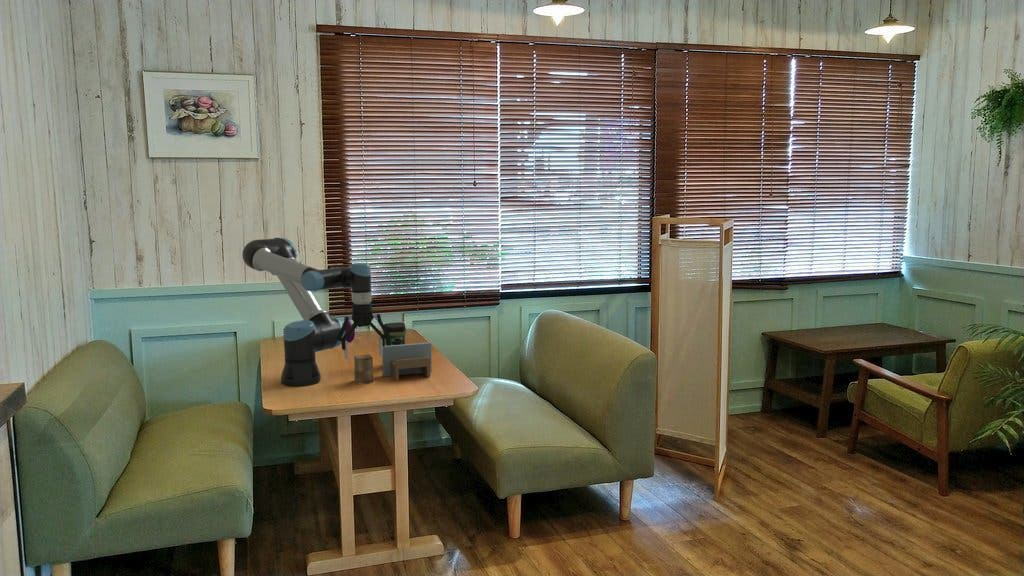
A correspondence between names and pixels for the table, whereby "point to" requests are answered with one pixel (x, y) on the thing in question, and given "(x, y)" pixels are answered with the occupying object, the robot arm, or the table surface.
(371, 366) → the brown cylinder
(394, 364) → the wall board
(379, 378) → the table surface
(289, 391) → the table surface
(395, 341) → the coffee jar
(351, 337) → the mounting bracket
